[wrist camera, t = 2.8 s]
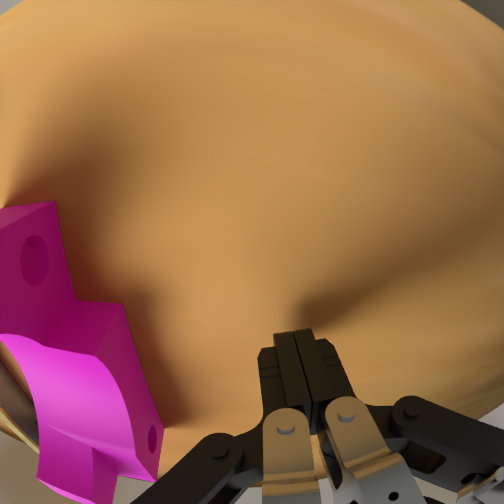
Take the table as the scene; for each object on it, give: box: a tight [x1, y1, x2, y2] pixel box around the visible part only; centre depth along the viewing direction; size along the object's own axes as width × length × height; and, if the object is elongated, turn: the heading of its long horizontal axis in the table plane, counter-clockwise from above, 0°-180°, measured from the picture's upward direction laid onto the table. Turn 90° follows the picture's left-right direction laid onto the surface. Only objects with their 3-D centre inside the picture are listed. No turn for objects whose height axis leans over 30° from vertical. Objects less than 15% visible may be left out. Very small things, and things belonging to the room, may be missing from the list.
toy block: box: [0, 201, 164, 504], centre depth 9 cm, size 15×6×8 cm, turn 179°
